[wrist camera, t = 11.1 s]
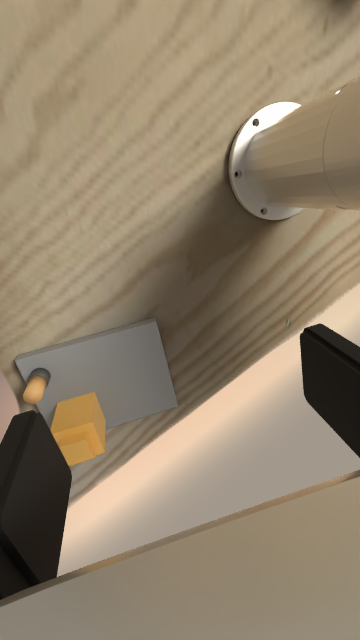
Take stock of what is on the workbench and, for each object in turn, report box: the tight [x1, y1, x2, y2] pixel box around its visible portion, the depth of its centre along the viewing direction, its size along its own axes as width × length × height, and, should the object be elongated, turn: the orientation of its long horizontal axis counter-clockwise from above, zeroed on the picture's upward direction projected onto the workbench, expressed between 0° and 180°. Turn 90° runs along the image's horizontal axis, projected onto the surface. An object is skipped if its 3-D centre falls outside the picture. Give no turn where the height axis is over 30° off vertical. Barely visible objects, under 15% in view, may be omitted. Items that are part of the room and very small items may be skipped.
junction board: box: [15, 318, 178, 430], centre depth 40 cm, size 18×14×6 cm
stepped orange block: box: [50, 392, 106, 466], centre depth 39 cm, size 5×5×8 cm
